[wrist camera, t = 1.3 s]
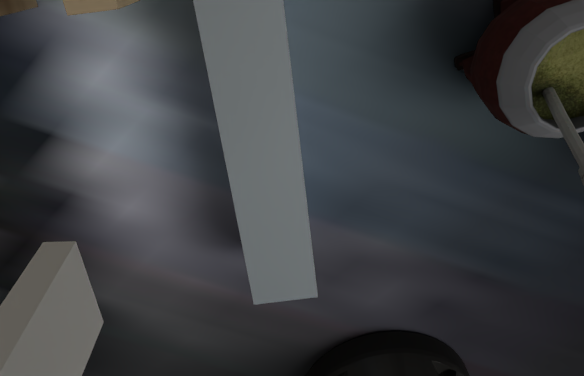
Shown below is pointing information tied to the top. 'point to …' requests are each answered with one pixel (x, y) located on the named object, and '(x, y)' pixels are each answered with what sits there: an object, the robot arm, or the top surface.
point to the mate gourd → (533, 69)
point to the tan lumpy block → (66, 5)
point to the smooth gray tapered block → (260, 142)
